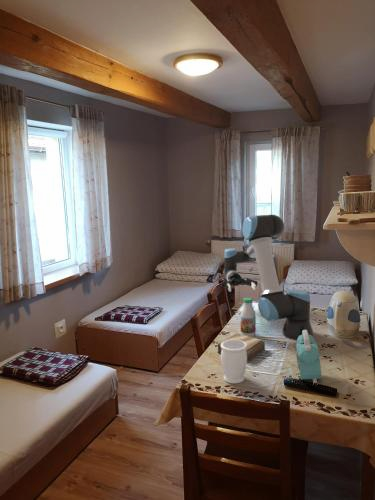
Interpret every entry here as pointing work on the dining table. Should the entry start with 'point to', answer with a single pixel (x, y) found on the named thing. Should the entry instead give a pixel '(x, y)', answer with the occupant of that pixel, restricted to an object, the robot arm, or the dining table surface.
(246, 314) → the milk bottle
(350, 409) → the dining table surface
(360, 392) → the dining table surface
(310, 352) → the alarm clock
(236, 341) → the jar
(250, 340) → the walnut stand
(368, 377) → the dining table surface
